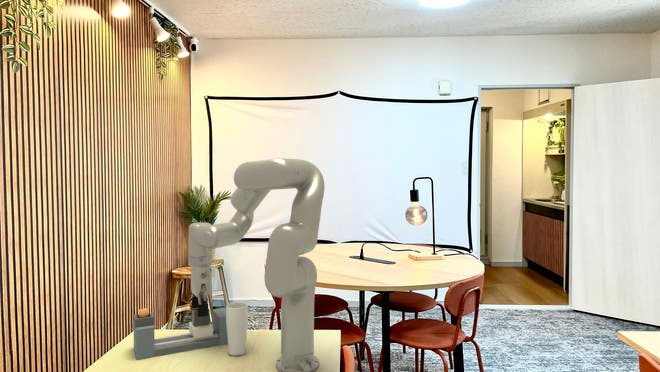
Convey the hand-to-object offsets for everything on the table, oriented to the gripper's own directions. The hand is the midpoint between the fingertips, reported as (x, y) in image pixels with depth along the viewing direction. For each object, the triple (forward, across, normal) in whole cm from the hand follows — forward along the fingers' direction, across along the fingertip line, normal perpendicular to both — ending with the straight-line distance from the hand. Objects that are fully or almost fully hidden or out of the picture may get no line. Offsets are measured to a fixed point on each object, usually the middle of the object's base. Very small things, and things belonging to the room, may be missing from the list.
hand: (199, 311), depth 149 cm
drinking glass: (+10, -15, -8) cm, 20 cm away
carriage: (+7, -1, 0) cm, 7 cm away
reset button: (0, 0, +17) cm, 17 cm away
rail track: (+10, -1, +5) cm, 11 cm away
